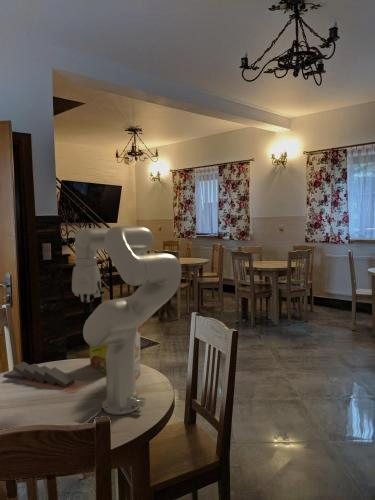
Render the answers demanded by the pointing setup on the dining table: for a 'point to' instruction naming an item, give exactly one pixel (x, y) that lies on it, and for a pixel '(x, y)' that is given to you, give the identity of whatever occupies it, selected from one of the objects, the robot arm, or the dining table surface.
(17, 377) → the domino
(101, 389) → the dining table surface
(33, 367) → the domino
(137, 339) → the cracker box
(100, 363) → the food package
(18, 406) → the dining table surface
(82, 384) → the domino board
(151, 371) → the dining table surface
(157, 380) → the dining table surface
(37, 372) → the domino
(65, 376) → the domino
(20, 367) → the domino
